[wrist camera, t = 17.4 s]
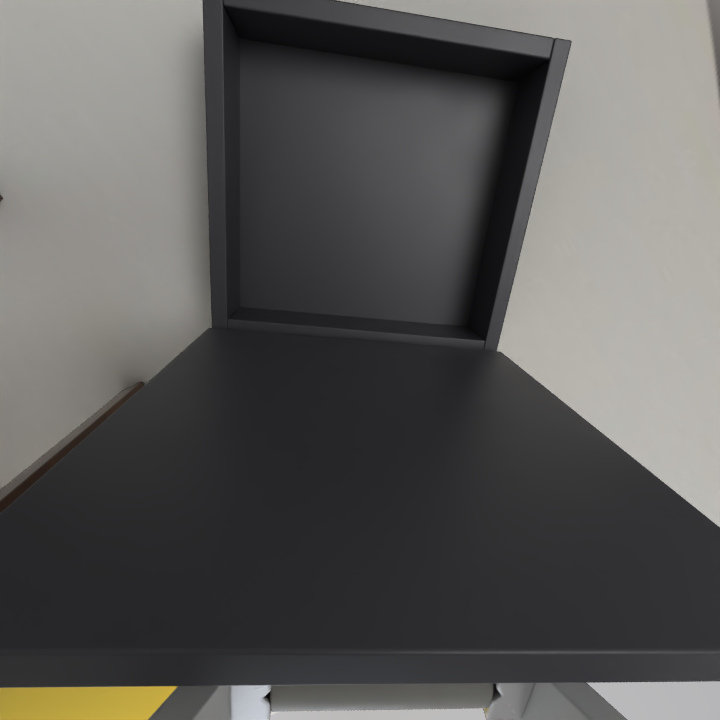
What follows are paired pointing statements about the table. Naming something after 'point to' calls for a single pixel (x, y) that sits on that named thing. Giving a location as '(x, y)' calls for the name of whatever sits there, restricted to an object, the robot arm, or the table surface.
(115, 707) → the teapot
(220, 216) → the hinged lid box
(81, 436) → the shelf legs
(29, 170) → the table surface
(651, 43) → the table surface
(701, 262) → the table surface
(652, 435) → the table surface
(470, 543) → the lid
